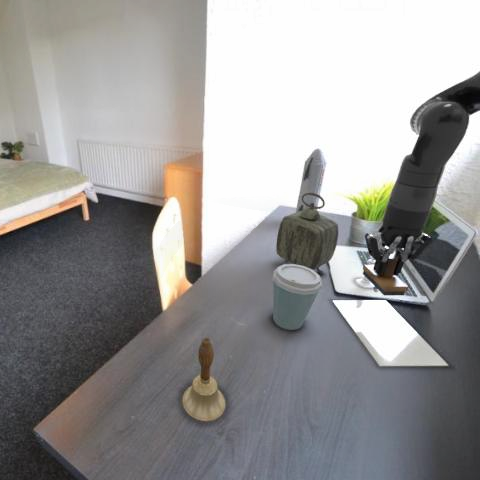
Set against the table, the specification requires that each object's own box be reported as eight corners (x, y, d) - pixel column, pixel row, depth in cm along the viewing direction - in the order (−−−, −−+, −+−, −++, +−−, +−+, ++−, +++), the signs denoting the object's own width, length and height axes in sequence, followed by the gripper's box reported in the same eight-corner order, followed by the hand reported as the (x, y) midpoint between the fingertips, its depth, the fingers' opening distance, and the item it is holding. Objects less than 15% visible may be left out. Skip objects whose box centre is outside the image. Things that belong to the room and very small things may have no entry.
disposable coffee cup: (273, 304, 88) (281, 255, 82) (316, 319, 83) (329, 268, 76) (259, 327, 81) (266, 275, 74) (305, 345, 75) (318, 291, 68)
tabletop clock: (328, 276, 100) (348, 197, 88) (310, 286, 95) (328, 204, 84) (287, 257, 111) (300, 184, 99) (269, 265, 106) (281, 190, 95)
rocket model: (300, 232, 127) (315, 153, 113) (284, 226, 132) (297, 149, 118) (321, 223, 134) (338, 147, 120) (305, 218, 139) (319, 144, 126)
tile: (384, 302, 88) (385, 299, 88) (447, 368, 69) (449, 365, 68) (331, 302, 89) (332, 300, 88) (378, 368, 69) (379, 365, 69)
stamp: (361, 273, 83) (369, 246, 79) (380, 273, 83) (389, 246, 79) (383, 296, 74) (393, 267, 71) (405, 295, 74) (416, 267, 71)
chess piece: (378, 290, 93) (388, 259, 89) (360, 290, 93) (369, 259, 89) (368, 280, 98) (378, 250, 93) (351, 280, 98) (360, 250, 93)
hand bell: (226, 427, 58) (233, 361, 51) (179, 420, 60) (179, 354, 52) (226, 387, 66) (232, 324, 58) (184, 382, 67) (185, 320, 60)
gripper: (386, 210, 66) (363, 283, 74) (457, 209, 66) (427, 282, 74) (365, 198, 73) (347, 265, 81) (430, 197, 73) (405, 265, 80)
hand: (385, 273), depth 77 cm, fingers closed on stamp, 3 cm apart
